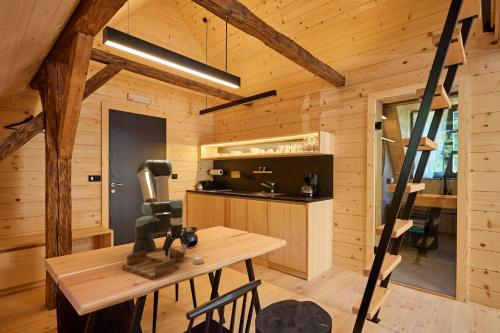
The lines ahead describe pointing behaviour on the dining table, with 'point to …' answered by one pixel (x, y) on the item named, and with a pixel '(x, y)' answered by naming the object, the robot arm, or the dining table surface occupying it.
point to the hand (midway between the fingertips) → (176, 257)
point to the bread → (176, 254)
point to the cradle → (149, 265)
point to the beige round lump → (198, 260)
